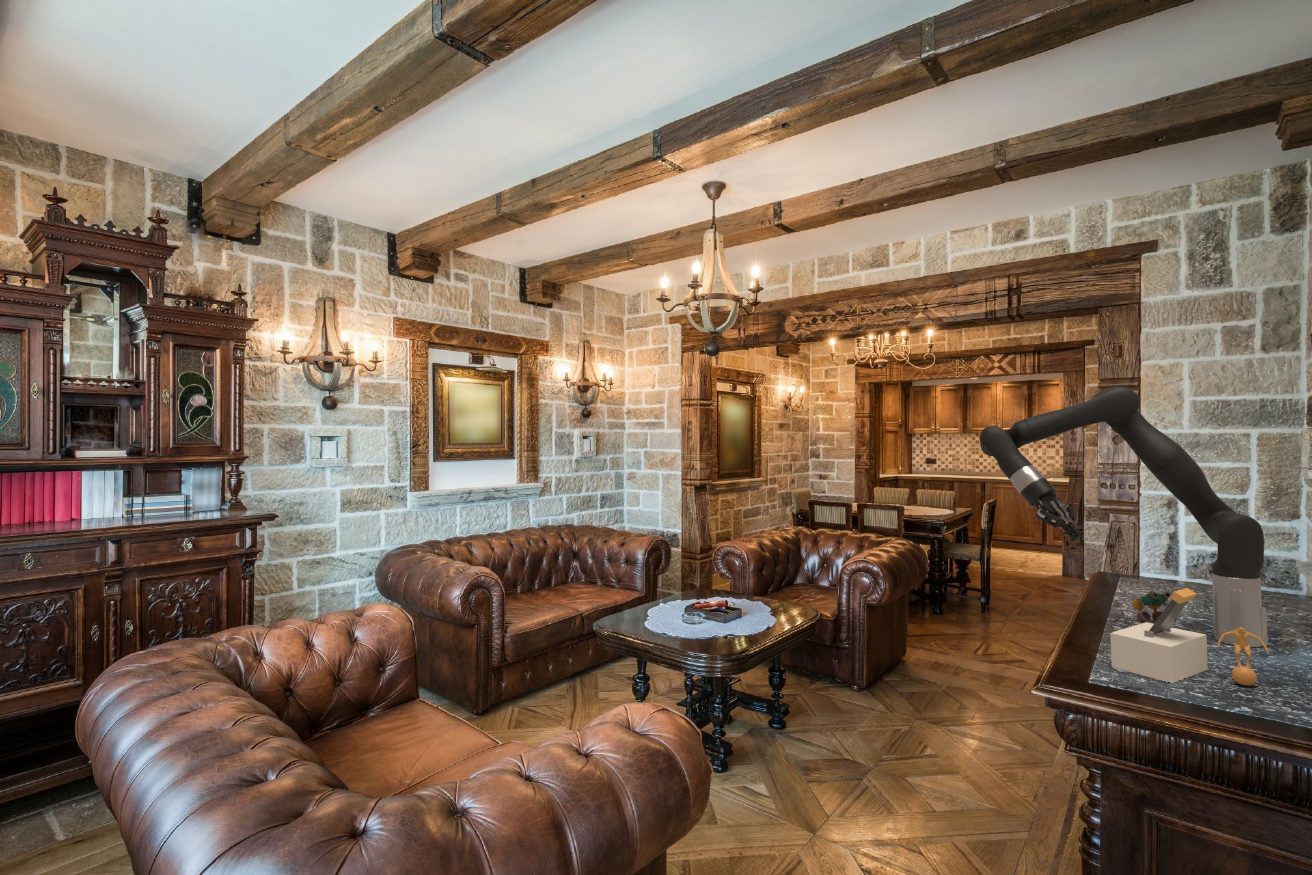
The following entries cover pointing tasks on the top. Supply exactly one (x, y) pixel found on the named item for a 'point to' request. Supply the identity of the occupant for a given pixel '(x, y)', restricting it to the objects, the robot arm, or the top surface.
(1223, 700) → the top surface
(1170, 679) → the breaker housing
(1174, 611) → the handle
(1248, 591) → the robot arm
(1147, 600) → the binoculars
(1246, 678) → the figurine
